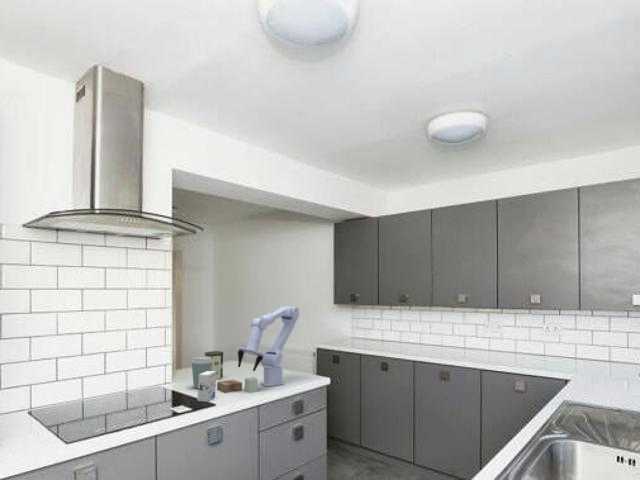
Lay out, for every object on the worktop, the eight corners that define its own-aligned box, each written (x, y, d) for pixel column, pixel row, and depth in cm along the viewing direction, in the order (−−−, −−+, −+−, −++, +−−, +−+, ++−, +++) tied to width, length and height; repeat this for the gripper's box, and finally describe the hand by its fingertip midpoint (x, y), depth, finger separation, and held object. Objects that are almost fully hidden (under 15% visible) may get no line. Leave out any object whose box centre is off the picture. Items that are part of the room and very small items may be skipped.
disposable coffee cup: (196, 384, 221) (197, 355, 223) (215, 385, 219) (216, 355, 221) (186, 389, 211) (187, 358, 213) (206, 390, 209) (207, 359, 210)
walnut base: (233, 387, 217) (233, 379, 217) (241, 391, 210) (242, 382, 210) (217, 390, 211) (217, 381, 212) (224, 393, 204) (225, 385, 205)
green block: (252, 389, 211) (253, 377, 212) (257, 391, 208) (257, 378, 208) (244, 391, 208) (245, 378, 209) (249, 393, 205) (249, 380, 206)
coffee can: (213, 375, 243) (214, 350, 245) (226, 377, 238) (227, 352, 239) (199, 379, 235) (200, 352, 236) (212, 381, 229) (213, 354, 231)
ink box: (206, 396, 198) (206, 370, 200) (216, 397, 197) (216, 371, 199) (197, 401, 190) (198, 374, 191) (207, 401, 189) (208, 374, 190)
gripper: (241, 336, 209) (233, 364, 203) (269, 344, 212) (262, 372, 207) (239, 338, 215) (231, 365, 209) (266, 346, 218) (259, 373, 213)
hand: (246, 368), depth 208 cm, fingers open, 7 cm apart
